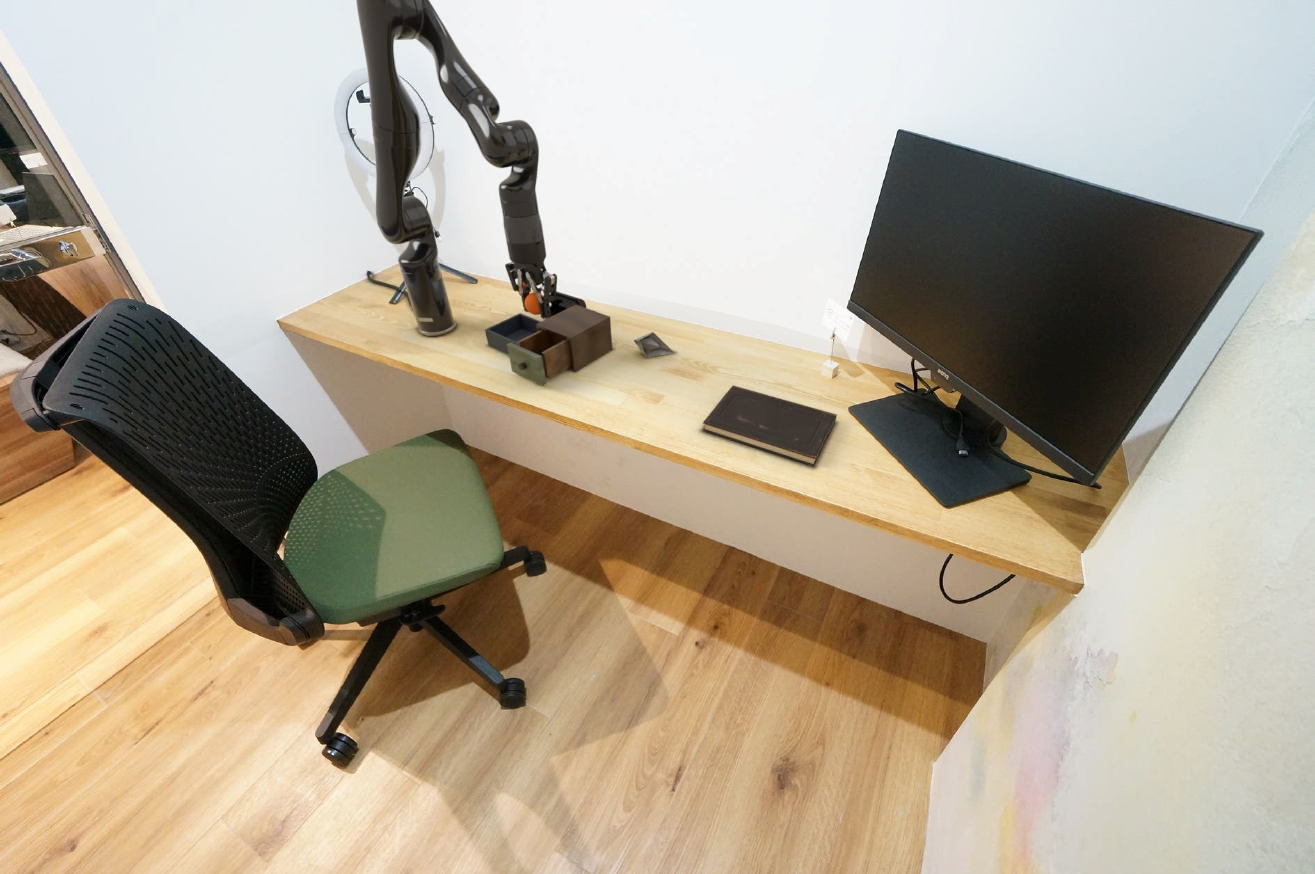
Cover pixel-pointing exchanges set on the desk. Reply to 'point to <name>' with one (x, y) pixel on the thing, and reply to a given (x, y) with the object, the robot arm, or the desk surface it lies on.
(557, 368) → the drawer
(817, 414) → the hardcover book
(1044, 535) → the desk surface
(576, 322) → the cabinet
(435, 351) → the desk surface
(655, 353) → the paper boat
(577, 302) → the end cap
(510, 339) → the box
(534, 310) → the ball
